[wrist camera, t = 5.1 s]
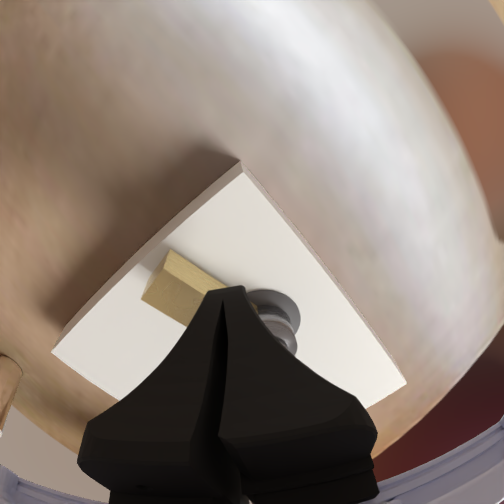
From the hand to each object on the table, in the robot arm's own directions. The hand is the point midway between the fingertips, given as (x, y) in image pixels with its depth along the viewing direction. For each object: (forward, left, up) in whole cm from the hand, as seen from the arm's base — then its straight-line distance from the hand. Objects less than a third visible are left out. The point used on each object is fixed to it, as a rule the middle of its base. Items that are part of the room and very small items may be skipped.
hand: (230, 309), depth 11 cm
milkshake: (-28, +5, -7) cm, 29 cm away
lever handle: (-2, -2, -4) cm, 4 cm away
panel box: (-6, -8, -7) cm, 12 cm away
